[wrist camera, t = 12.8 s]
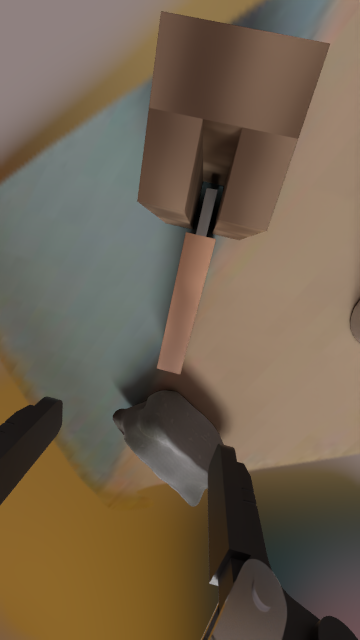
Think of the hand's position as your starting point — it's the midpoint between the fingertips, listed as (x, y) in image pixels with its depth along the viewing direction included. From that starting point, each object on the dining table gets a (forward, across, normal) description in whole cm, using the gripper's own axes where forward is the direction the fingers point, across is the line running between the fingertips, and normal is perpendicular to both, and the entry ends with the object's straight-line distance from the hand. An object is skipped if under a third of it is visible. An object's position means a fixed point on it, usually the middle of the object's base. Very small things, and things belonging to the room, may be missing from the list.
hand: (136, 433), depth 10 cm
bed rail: (+19, 0, -4) cm, 19 cm away
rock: (+19, -4, +20) cm, 28 cm away
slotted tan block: (+19, 0, -16) cm, 24 cm away
